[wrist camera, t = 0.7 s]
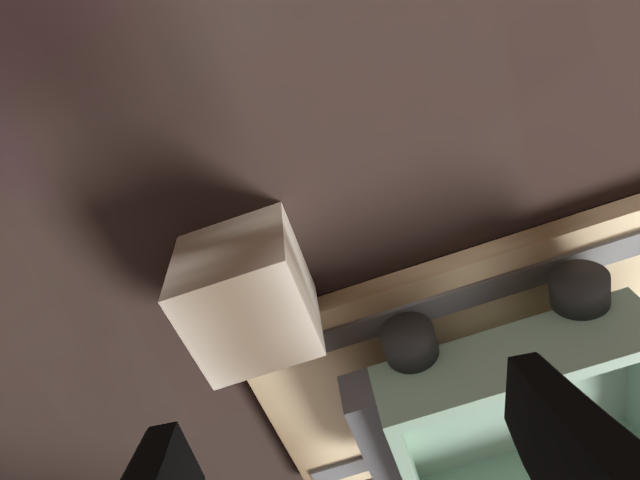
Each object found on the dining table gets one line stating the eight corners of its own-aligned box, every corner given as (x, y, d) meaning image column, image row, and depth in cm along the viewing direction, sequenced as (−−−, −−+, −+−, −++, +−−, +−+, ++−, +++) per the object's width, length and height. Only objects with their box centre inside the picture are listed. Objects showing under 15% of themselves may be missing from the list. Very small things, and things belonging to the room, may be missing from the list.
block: (222, 315, 20) (213, 390, 17) (177, 235, 18) (157, 302, 14) (315, 285, 20) (326, 355, 16) (280, 200, 18) (285, 260, 14)
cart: (382, 473, 24) (402, 557, 20) (324, 336, 19) (337, 416, 16) (611, 407, 23) (669, 482, 20) (611, 246, 18) (687, 310, 15)
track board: (311, 476, 26) (318, 557, 22) (227, 326, 20) (219, 402, 17) (774, 339, 24) (860, 404, 21) (823, 134, 18) (952, 175, 15)
